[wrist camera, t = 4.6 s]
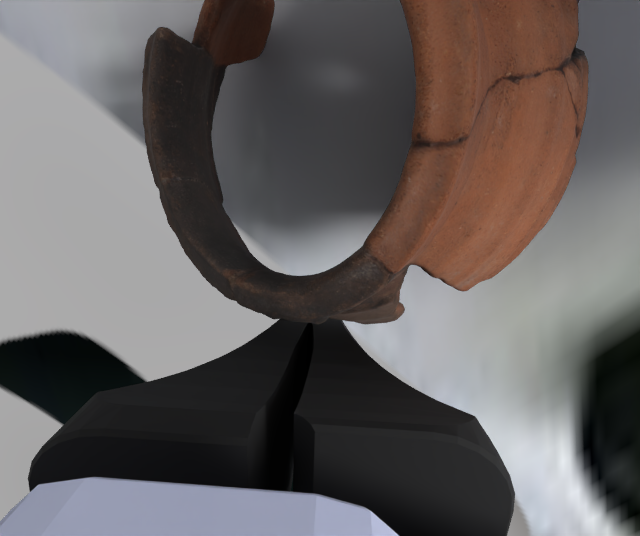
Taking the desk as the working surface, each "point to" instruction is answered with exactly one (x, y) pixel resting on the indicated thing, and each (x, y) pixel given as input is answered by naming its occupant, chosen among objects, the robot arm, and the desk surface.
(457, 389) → the desk surface
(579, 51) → the orange curved piece
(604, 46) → the desk surface
